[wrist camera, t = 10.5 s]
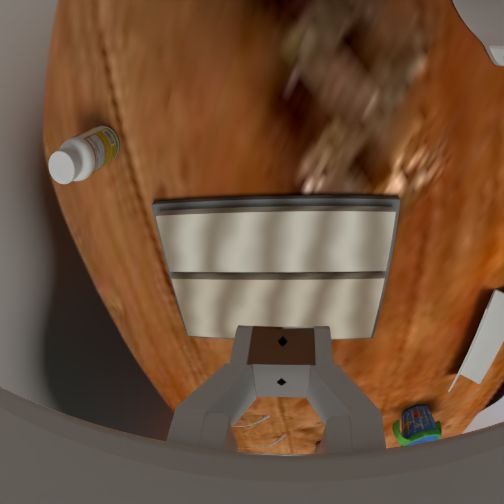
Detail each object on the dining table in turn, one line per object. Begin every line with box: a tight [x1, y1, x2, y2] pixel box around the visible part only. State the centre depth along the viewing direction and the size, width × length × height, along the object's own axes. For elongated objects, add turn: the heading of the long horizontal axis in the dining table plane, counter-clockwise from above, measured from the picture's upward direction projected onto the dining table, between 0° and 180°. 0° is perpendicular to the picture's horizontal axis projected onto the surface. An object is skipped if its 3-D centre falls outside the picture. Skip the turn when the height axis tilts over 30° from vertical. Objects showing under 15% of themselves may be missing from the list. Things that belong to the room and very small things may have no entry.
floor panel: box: [152, 195, 400, 340], centre depth 44 cm, size 32×25×2 cm
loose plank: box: [172, 272, 385, 339], centre depth 46 cm, size 30×12×2 cm, turn 94°
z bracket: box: [448, 289, 504, 392], centre depth 46 cm, size 12×25×6 cm
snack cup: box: [392, 405, 442, 446], centre depth 60 cm, size 16×11×10 cm
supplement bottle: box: [49, 126, 119, 184], centre depth 32 cm, size 5×5×10 cm
